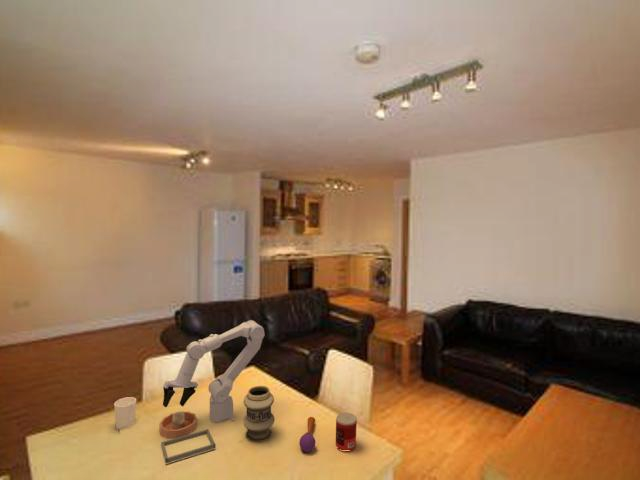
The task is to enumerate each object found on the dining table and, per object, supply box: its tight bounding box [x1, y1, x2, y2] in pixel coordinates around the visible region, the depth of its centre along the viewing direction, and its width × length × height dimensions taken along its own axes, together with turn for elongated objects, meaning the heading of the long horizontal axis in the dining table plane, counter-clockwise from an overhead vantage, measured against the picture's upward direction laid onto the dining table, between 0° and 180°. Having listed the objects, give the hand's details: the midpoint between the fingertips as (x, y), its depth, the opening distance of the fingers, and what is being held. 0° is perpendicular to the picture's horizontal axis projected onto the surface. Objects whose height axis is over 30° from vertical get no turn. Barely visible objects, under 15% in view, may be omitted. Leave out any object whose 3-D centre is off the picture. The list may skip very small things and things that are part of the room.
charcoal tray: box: [160, 429, 217, 467], centre depth 132 cm, size 17×11×2 cm, turn 121°
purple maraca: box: [298, 416, 316, 453], centre depth 140 cm, size 6×6×20 cm
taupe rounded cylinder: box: [173, 411, 185, 430], centre depth 144 cm, size 4×4×6 cm
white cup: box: [113, 396, 137, 431], centre depth 146 cm, size 8×8×10 cm
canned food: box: [335, 412, 357, 451], centre depth 136 cm, size 8×8×11 cm
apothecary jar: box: [243, 385, 275, 443], centre depth 142 cm, size 12×12×18 cm
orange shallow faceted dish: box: [158, 411, 198, 439], centre depth 144 cm, size 14×14×4 cm
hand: (173, 405), depth 142 cm, fingers open, 7 cm apart
